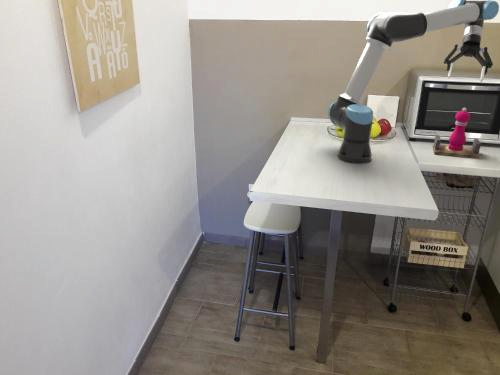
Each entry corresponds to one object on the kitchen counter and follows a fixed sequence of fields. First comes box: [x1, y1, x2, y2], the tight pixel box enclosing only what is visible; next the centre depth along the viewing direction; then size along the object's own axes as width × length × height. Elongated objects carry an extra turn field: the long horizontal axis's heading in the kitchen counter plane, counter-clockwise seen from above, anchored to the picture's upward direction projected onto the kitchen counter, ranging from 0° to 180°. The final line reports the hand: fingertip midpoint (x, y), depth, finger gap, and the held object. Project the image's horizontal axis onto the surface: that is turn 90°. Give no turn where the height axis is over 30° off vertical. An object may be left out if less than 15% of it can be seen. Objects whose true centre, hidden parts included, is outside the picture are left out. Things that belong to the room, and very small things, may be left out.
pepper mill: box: [448, 107, 471, 151], centre depth 188 cm, size 7×7×20 cm
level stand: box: [431, 134, 482, 160], centre depth 192 cm, size 19×12×6 cm, turn 71°
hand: (465, 78), depth 183 cm, fingers open, 13 cm apart
